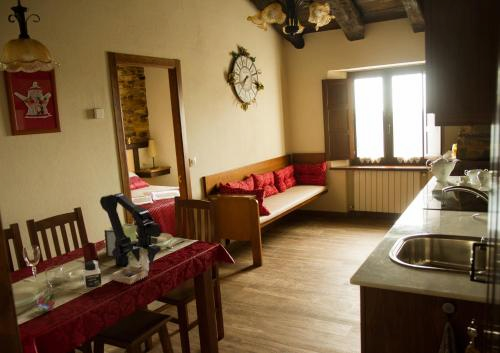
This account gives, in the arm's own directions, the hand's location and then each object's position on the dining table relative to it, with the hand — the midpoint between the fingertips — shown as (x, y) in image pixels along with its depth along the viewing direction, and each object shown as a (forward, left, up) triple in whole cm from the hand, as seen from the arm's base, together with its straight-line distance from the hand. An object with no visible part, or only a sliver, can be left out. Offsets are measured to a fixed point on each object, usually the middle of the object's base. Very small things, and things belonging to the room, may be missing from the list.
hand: (144, 262), depth 220 cm
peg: (0, 0, -4) cm, 4 cm away
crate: (-5, -9, -4) cm, 11 cm away
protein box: (-20, +29, -5) cm, 36 cm away
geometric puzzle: (-32, -42, -5) cm, 53 cm away
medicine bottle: (-21, -17, -5) cm, 28 cm away
